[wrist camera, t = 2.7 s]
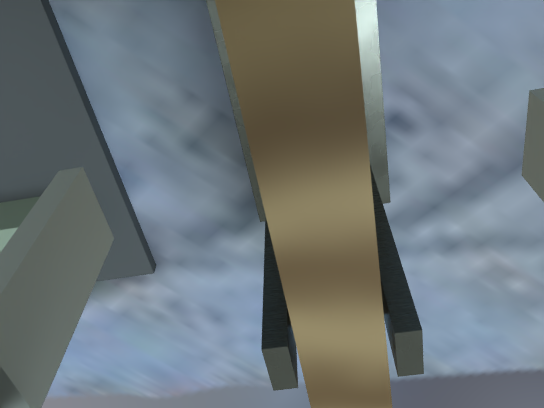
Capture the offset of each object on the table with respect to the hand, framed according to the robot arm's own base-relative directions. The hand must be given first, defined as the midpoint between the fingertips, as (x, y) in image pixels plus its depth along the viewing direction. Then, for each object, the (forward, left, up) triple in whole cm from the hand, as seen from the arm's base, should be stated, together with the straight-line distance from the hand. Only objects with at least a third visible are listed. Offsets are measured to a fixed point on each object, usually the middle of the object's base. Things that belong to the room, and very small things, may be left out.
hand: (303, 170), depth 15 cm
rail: (0, 0, -6) cm, 6 cm away
